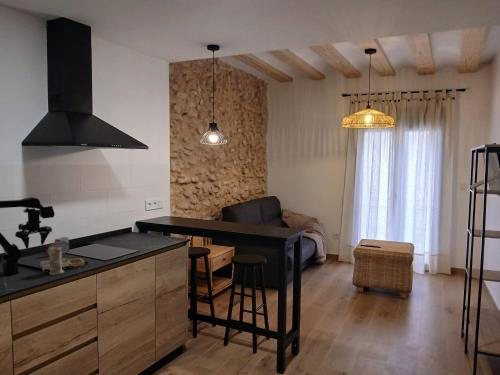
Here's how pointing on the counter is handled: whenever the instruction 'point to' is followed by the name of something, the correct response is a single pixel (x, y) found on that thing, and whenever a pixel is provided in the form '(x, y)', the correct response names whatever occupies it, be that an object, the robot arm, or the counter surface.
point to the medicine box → (62, 239)
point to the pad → (56, 273)
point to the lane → (47, 264)
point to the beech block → (55, 259)
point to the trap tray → (76, 263)
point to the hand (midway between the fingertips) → (34, 246)
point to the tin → (62, 244)
